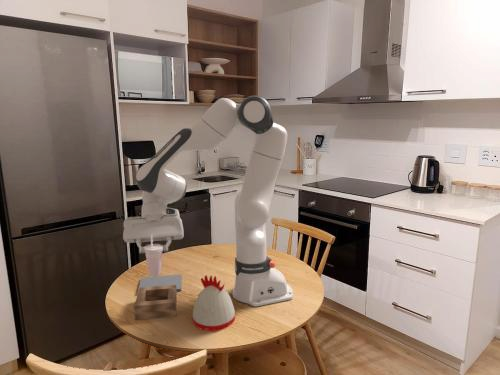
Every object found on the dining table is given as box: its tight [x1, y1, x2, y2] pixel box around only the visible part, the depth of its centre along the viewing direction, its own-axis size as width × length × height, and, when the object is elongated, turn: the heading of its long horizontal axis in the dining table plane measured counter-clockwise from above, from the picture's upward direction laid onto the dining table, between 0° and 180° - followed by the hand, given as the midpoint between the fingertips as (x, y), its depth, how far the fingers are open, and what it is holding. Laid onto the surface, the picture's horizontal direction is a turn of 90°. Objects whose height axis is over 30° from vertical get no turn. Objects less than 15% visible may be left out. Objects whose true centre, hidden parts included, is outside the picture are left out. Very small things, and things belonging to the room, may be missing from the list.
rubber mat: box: [136, 273, 182, 295], centre depth 144 cm, size 16×13×1 cm
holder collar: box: [133, 285, 178, 321], centre depth 127 cm, size 13×13×5 cm
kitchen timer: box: [192, 275, 236, 332], centre depth 119 cm, size 14×14×15 cm
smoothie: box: [143, 234, 164, 277], centre depth 123 cm, size 6×6×14 cm
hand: (153, 251), depth 123 cm, fingers closed on smoothie, 6 cm apart
